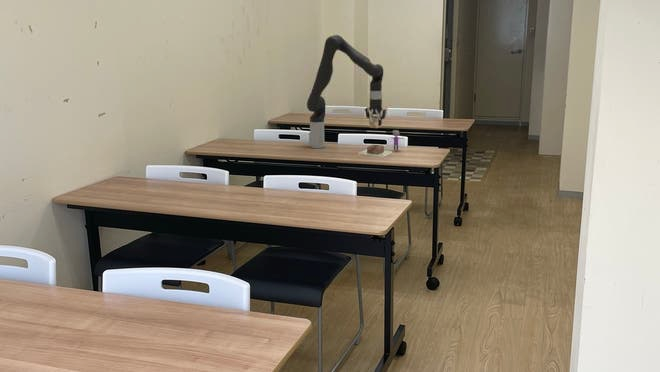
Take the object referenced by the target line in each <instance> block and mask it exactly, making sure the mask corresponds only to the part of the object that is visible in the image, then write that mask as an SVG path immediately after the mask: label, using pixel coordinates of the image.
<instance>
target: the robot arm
mask: <svg viewBox="0 0 660 372" xmlns="http://www.w3.org/2000/svg"><path fill="white" fill-rule="evenodd" d="M324 42H325V43H324V46H323V53H322V56H321V59H320V60H321V61H320V63H319V65H318V69H317V73H316V76H315V79H314V83H313V86H312V89H311V92H310V94H309V97H308V99H307V102H306V107H307V110H308V111H309V112H313V113H312V115H311V116H310V117H309V132H308V145H309V148H312V149H323V148H325V117H326V101H325V98H324V97H323V96H321V95H322V93H323V91H324V90H326V88H327V86H329V83H330V82H331V79H332V77H333V73H334V65H333V63H334V62H333V61H334V57H335V54H336V52H337V51H340V52H342V53H344V55H345V54H346V56H347V57H348V58H349V59H350V61H351V62H353V63H354V64H355V65H357V66H358V67H359V68H361V69H362V70H363V71H364V72H365V73H366V74H367V75H369V76H370V77H371V78H372V79H371V81H370V83H369V107H366V108H364V113H365V116H366V118H367V119H369V125H370V118H371V117H373V116H377V117H378V118H379V124H378V125H379V126H382V124H383V122H382V121H383V120H384V119H385V118H386V115H387V109H384V108H383V107H382V106H383V92H382V88H383V87H382V85H383V84H382V83H383V82H382V81H383V78H384V68H383V65H381V64H379V63H378V64H374V63H372V61H371V60H370V59H369V57H366V56H365V55H364V54H363V53H361V52H359V51H358V50H357V49H356V48H354V47H353V46H352V45H351V44H349V43H348V41H346V39H344V38H343V37H342V36H341V35H338V34H334V35H330V36H329V37H327V38H326V40H325V41H324Z"/></svg>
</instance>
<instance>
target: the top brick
mask: <svg viewBox="0 0 660 372" xmlns="http://www.w3.org/2000/svg"><path fill="white" fill-rule="evenodd" d="M378 124H379V118H378V116H377V115H373V117H371V118H370V124H369V128H371V129H372V128H373V129H378V128H381V126H382V125H381V126H379V125H378Z"/></svg>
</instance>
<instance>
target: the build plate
mask: <svg viewBox="0 0 660 372" xmlns="http://www.w3.org/2000/svg"><path fill="white" fill-rule="evenodd" d="M392 153H393V151H391V150H384V152H383V153H381V154H379V155H377V154H368V153H367V148H366V149H364V150H362V151H359V152H358V153H357V154H358V155H364V156H365V155H366V156H375V157H382V158H383V157H386V156H388V155H390V154H392Z"/></svg>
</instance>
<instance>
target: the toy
mask: <svg viewBox="0 0 660 372" xmlns="http://www.w3.org/2000/svg"><path fill="white" fill-rule="evenodd" d="M392 135H393V136H394V137H392V139H393V152H398V151H399V140H401V139H402V140H403V139H405V137H399V136H400V130H399V129H394V130H392Z"/></svg>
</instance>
